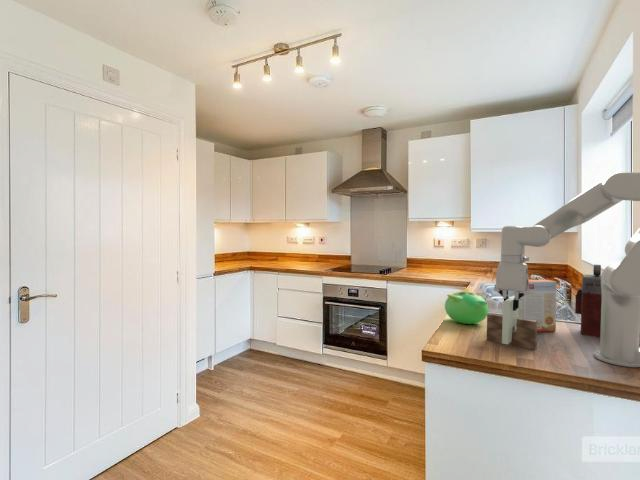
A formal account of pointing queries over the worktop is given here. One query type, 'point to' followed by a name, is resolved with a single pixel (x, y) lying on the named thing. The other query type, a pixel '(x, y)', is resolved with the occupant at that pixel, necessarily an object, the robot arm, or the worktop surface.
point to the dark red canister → (590, 303)
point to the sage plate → (508, 320)
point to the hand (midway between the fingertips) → (511, 309)
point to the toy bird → (466, 307)
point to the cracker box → (540, 304)
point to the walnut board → (513, 331)
